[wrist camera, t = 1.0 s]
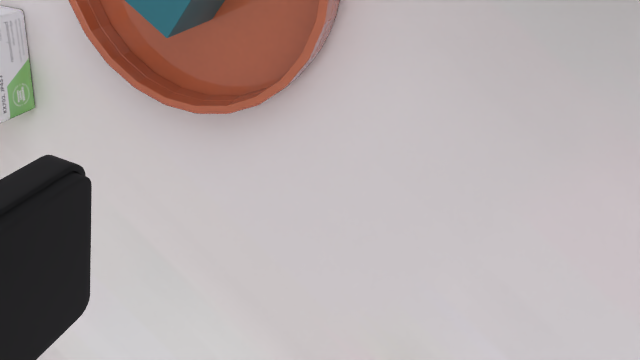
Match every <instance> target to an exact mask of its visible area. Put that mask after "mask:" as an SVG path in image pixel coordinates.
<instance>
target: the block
mask: <svg viewBox="0 0 640 360" xmlns="http://www.w3.org/2000/svg"><path fill="white" fill-rule="evenodd" d="M125 1H126V2H127V3H128V4H129V5H130V6H131V7H133V8H134V9H135V10H136V11H137V12H138V13H139V14H140V15H141V16H143V17H144V18H145V19H146V20H147V21H148V22H149V23H150V24H151V25H153V26H154V27H155V28H156V29H157V30H158V31H159V32H160V33H161V34H163V35H164V36H165V37H166V38H169V37H172V36H174V35H176V34H179V33H181V32H183V31H186V30H188V29H191V28H193V27H195V26H198V25H200V24H202V23H205V22H207V21H209V20H212V19H213V17H214V16H215V14H216V13H217V11H218V10H219V8H220V7H221V5H222V4H223V2H224V1H225V0H125Z"/></svg>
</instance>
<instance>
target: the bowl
mask: <svg viewBox="0 0 640 360" xmlns="http://www.w3.org/2000/svg"><path fill="white" fill-rule="evenodd" d="M339 1H340V0H225V1H224V2H223V4H222V5H221V7H220V8H219V10H218V11H217V13H216V14H215V16H214V17H213V19H212V20H209V21H207V22H205V23H202V24H200V25H198V26H195V27H193V28H191V29H188V30H186V31H183V32H181V33H179V34H176V35H174V36H172V37H169V38H166V37H165V36H164V35H163V34H161V33H160V32H159V31H158V30H157V29H156V28H155V27H154V26H153V25H151V24H150V23H149V22H148V21H147V20H146V19H145V18H144V17H143V16H141V15H140V14H139V13H138V12H137V11H136V10H135V9H134V8H133V7H131V6H130V5H129V4H128V3H127V2H126V1H125V0H69V2H70V4H71V6H72V8H73V10H74V12H75V14H76V16H77V18H78V20H79V22H80V24H81V27H82V29H83V31H84V33H85V34H86V36H87V37H88V38H89V40H90V41H91V42H92V44H93V45H94V46H95V48H96V49H97V50H98V52H99V53H100V54H101V56H102V57H103V58H104V60H105V61H106V62H107V63H108V64H109V66H111V67H112V68H113V69H114V70H115V71H116V72H117V73H119V74H120V75H121V76H122V77H123V78H124V79H125V80H126V81H128V82H129V83H130V84H131V85H132V86H133V87H135V88H136V89H138V90H139V91H141V92H143V93H145V94H147V95H148V96H150V97H152V98H154V99H156V100H157V101H159V102H161V103H163V104H165V105H168V106H171V107H175V108H178V109H182V110H186V111H189V112H193V113H197V114H228V113H233V112H236V111H240V110H243V109H246V108H250V107H253V106H257V105H259V104H261V103H263V102H264V101H266V100H267V99H269V98H270V97H272V96H273V95H275V94H276V93H278V92H279V91H281V90H282V89H284V88H285V87H287V86H288V85H289V84H290V83H291V82H293V81H294V80H295V79H296V78H297V77H298V76H299V75H300V74H301V73H302V72H303V70H304V69H305V68H306V67H307V66H308V65H309V64H310V63H311V62H312V60H313V59H314V58H315V56H316V55H317V54H318V52H319V51H320V49H321V48H322V46H323V44H324V42H325V40H326V38H327V37H328V35H329V33H330V30H331V28H332V25H333V22H334V20H335V17H336V14H337V10H338V5H339Z"/></svg>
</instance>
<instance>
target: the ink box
mask: <svg viewBox="0 0 640 360" xmlns="http://www.w3.org/2000/svg"><path fill="white" fill-rule="evenodd" d="M33 108H35V104H34V96H33V88H32V80H31V72H30V63H29V55H28V47H27V39H26V31H25V22H24V14H23V11H22V10H20V9H15V8H10V7H4V6H0V123H2V122H4V121H6V120H9V119H11V118H13V117H15V116H18V115H20V114H22V113H24V112H27V111H29V110H31V109H33Z"/></svg>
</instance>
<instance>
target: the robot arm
mask: <svg viewBox="0 0 640 360" xmlns="http://www.w3.org/2000/svg"><path fill="white" fill-rule="evenodd" d="M90 252H91V181H90V179H89V178H88V177H86V176H85V171H84V169H83V167H81V166H80V165H78V164H75V163H72V162H69V161H66V160H64V159H61V158H58V157H55V156H52V155H45V156H43V157H40V158H39V159H37V160H35V161H33V162H31V163H30V164H28V165H26V166H24V167H22V168H21V169H19V170H17V171H15V172H13V173H12V174H10V175H8V176H6V177H4V178H3V179H1V180H0V360H36V359H37V358H38V357H39V356H40V355H41V354H42V353H43V352H44V351H45V350H46V349H47V348H49V347H50V346H51V345H52V344H53V343H54V342H55V341H56V340H57V339H58V338H59V337H60V336H61V335H62V334H63V333H64V332H65V331H66V330H67V329H68V328H69V327H70V326H71V325H72V324H73V323H74V322H75V321H76V320H77V319H78V318H79V317H80V316H81V315H82V314H83V312H84V310H85V309H86V307H87V305H88V302H89V298H90Z"/></svg>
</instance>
